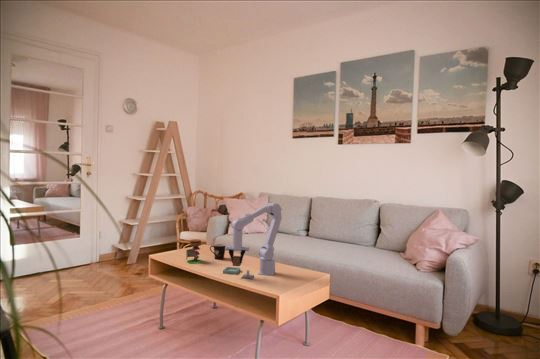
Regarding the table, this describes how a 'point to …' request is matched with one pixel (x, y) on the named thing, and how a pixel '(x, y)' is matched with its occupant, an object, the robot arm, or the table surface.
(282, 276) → the table surface
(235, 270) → the tray
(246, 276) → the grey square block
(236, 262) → the walnut ring block
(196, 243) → the toy tree house
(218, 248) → the coffee mug
